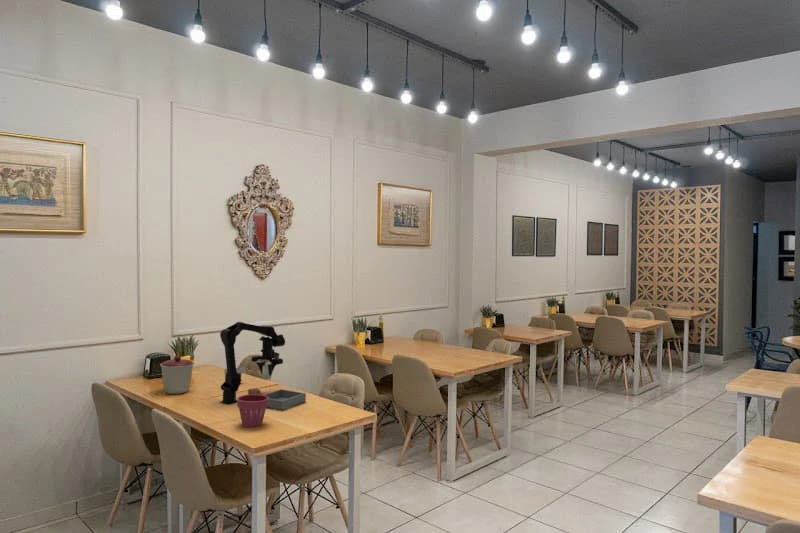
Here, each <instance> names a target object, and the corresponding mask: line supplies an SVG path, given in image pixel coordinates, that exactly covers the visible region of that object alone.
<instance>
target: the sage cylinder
mask: <svg viewBox="0 0 800 533" xmlns="http://www.w3.org/2000/svg"><path fill="white" fill-rule="evenodd" d="M261 376H262V377H261V378H262V379H265V380H267V379H271V378H272V375H271V376H270V375H269V368H268V364H265V365H263V368H262V373H261Z"/></svg>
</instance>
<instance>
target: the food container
mask: <svg viewBox="0 0 800 533" xmlns="http://www.w3.org/2000/svg"><path fill="white" fill-rule="evenodd" d="M236 371H237V373H240V374H241V375H242V372H243V371H244V369H243V367H242V366H241V365H240V366H239V367H236ZM223 372H224V377H225V376H226V374H227V368H224V370H223Z"/></svg>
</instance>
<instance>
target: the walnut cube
mask: <svg viewBox="0 0 800 533" xmlns="http://www.w3.org/2000/svg"><path fill="white" fill-rule="evenodd" d="M247 392H248V393H247V395H250V394H259V395H261V392H262V391H261V389H259V388H257V387H256V388H251V389H250V388H249V389H248V390H247Z"/></svg>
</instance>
